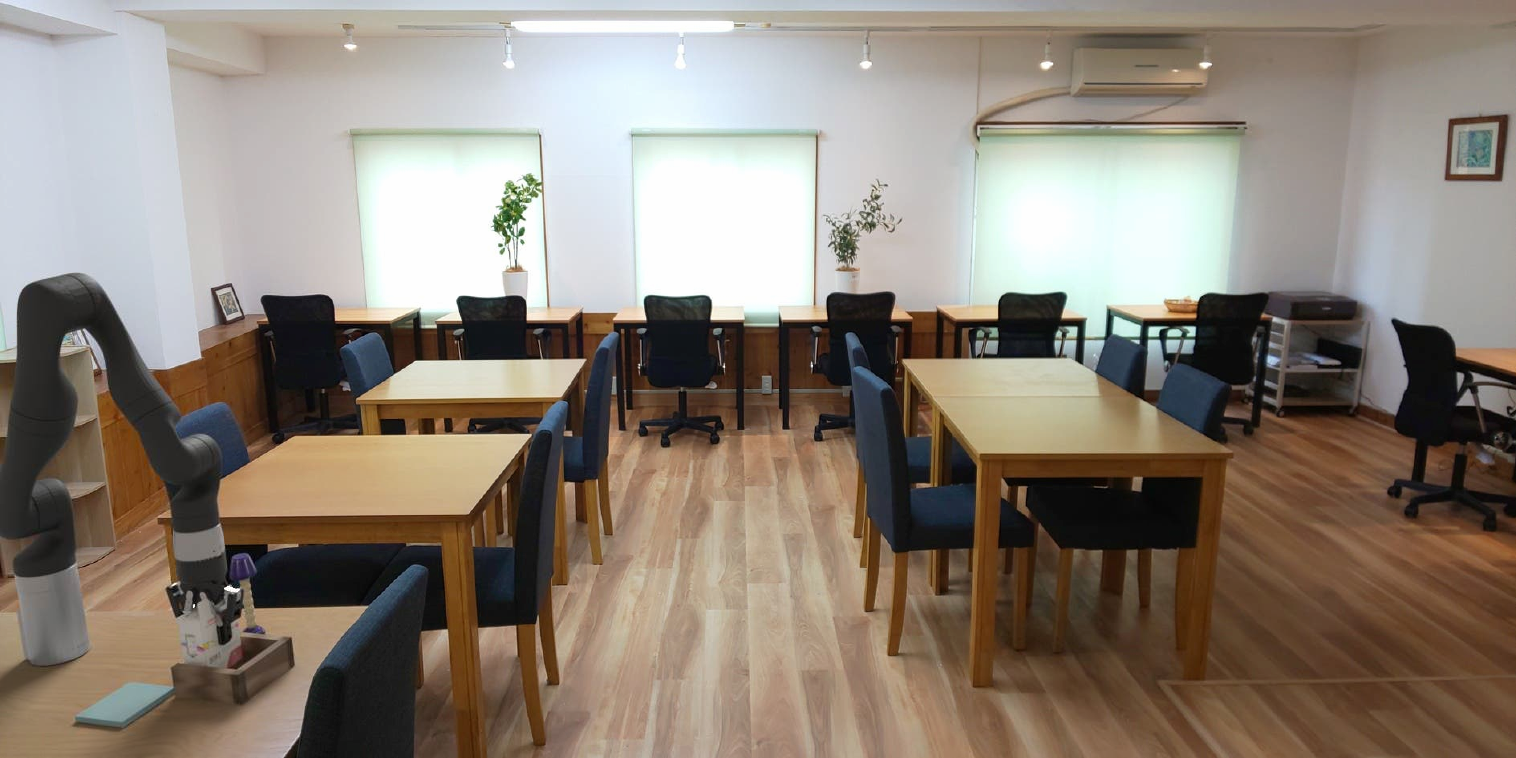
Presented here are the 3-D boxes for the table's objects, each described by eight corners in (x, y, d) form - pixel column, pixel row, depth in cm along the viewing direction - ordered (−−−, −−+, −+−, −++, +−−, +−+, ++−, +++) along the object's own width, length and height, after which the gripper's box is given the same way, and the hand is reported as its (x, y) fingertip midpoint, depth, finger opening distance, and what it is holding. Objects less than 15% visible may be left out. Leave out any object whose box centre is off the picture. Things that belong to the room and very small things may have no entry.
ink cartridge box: (219, 656, 175) (210, 580, 172) (243, 658, 174) (235, 583, 171) (183, 680, 167) (173, 601, 164) (208, 683, 166) (198, 604, 163)
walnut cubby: (174, 696, 165) (170, 667, 164) (232, 658, 178) (228, 630, 177) (241, 704, 162) (238, 674, 161) (294, 664, 175) (291, 637, 174)
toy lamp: (248, 644, 183) (238, 561, 179) (231, 639, 185) (221, 557, 181) (270, 633, 187) (260, 552, 184) (253, 628, 189) (244, 548, 186)
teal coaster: (75, 721, 157) (75, 716, 157) (131, 687, 168) (130, 681, 168) (123, 727, 156) (122, 722, 155) (175, 692, 166) (175, 687, 166)
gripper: (146, 555, 164) (158, 647, 167) (220, 562, 161) (231, 656, 165) (180, 539, 171) (191, 627, 174) (251, 545, 168) (261, 635, 172)
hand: (211, 641), depth 169 cm, fingers closed on ink cartridge box, 5 cm apart
